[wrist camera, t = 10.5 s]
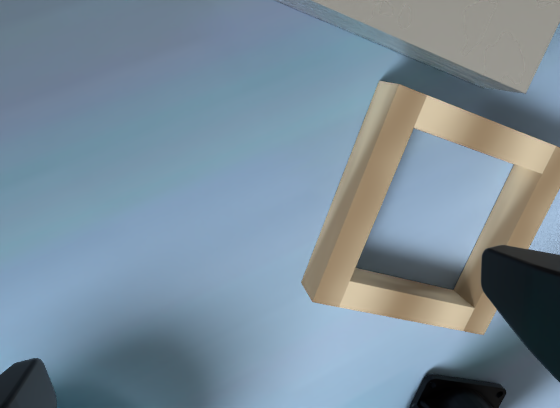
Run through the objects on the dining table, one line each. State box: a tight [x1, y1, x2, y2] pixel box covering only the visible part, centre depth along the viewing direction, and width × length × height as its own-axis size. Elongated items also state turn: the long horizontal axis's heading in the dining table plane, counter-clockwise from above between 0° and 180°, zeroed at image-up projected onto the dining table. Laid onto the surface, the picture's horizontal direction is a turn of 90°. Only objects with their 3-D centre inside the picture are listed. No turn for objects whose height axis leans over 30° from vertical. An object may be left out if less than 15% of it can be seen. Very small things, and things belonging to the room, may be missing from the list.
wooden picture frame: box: [301, 81, 560, 335], centre depth 23 cm, size 11×11×2 cm
